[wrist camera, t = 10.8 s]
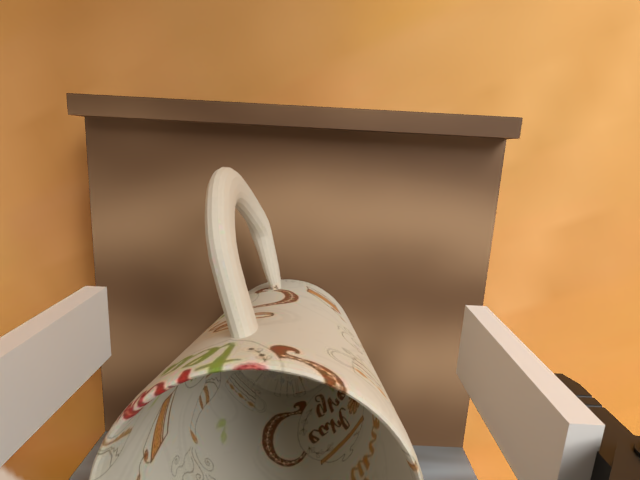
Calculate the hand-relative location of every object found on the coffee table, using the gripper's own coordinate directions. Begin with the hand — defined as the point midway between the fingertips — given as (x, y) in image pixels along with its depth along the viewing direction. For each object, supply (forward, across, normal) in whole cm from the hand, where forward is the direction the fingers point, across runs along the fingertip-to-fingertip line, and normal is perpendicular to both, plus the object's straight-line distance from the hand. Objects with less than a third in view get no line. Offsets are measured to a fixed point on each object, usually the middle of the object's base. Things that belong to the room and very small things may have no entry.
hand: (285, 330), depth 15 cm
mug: (+4, -1, 0) cm, 4 cm away
